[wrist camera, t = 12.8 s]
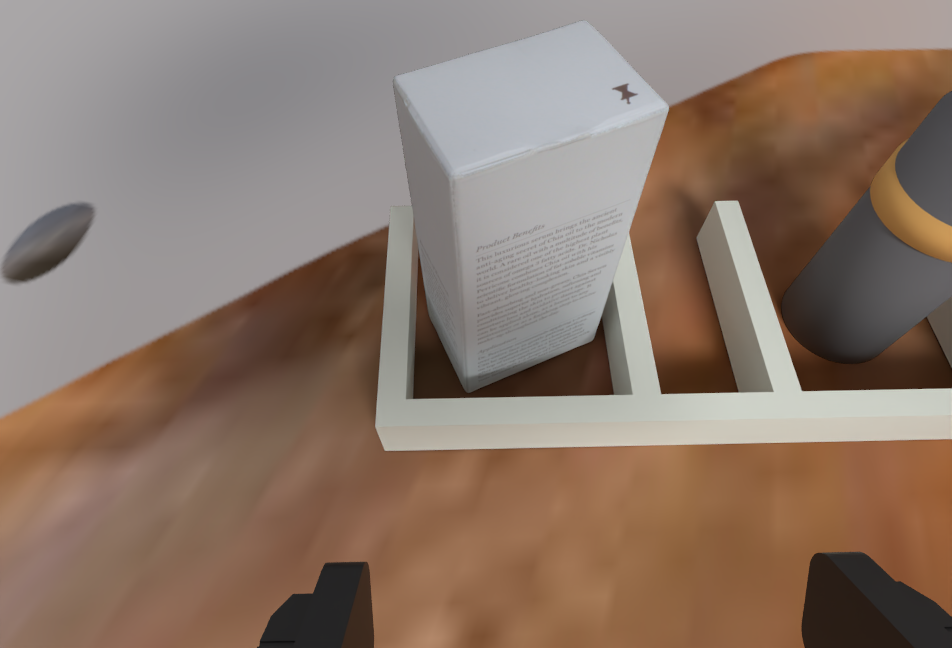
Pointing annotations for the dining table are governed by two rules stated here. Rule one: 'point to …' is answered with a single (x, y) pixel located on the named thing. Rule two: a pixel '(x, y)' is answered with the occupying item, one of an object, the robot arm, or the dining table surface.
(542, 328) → the skincare box
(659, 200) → the dining table surface
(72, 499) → the dining table surface
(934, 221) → the charcoal plug
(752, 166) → the dining table surface
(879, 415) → the rack
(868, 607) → the robot arm
